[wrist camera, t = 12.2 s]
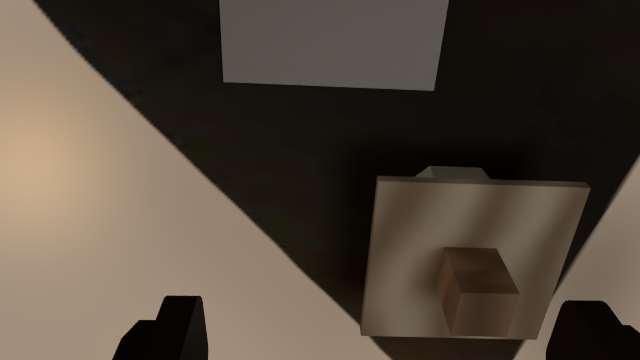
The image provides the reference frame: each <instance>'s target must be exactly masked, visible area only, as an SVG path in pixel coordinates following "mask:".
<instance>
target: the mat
mask: <svg viewBox="0 0 640 360" xmlns="http://www.w3.org/2000/svg"><path fill="white" fill-rule="evenodd" d="M448 2H449V0H219V3H220V23H221V43H222V63H223V82H239V83H263V84H286V85H310V86H334V87H358V88H382V89H406V90H429V91H434V86H435V80H436V74H437V68H438V62H439V56H440V50H441V44H442V38H443V32H444V26H445V20H446V14H447V8H448Z"/></svg>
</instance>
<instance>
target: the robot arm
mask: <svg viewBox="0 0 640 360" xmlns="http://www.w3.org/2000/svg"><path fill="white" fill-rule="evenodd" d="M112 360H208V341H207V332H206V324H205V316H204V309H203V301H202V298H201V296H166V297H165V298H164V300H163V302H162V305H161V307H160V310H159V313H158V316H157V318H156V320H139V321H138V322H137V323H136V324H135V325H134V326H133V327H132V328H131V329H130V330H129V331H128V332H127V333H126V334H125V335H124V336H123V337H122V339H121V341H120V343H119V345H118V348H117V350H116V352H115V354H114V357H113V359H112ZM546 360H640V333H639V332H638V331H637V330H635V329H634V328H633V327H631V326H630V325H622V324H621V322H620V321H619V320H618V318H617V317H616V315H615V314H614V313H613V311H612V310H611V308H610V307H609V306H608V305H607V304H606V303H605V302H603V301H573V300H568V301H565V302H564V303H563V304H562V306H561V308H560V311H559V314H558V317H557V320H556V323H555V326H554V328H553V331H552V334H551V337H550V340H549V343H548V346H547V349H546Z"/></svg>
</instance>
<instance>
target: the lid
mask: <svg viewBox="0 0 640 360" xmlns="http://www.w3.org/2000/svg"><path fill="white" fill-rule="evenodd" d="M590 189H591V188H590V187H589V186H588V184H587V183H586V182H560V181H529V180H497V179H466V178H434V177H403V176H377V184H376V193H375V201H374V210H373V219H372V228H371V237H370V246H369V255H368V264H367V273H366V281H365V290H364V299H363V308H362V317H361V326H360V331H361V335H362V336H401V337H446V338H490V339H537V337H538V334H539V331H540V328H541V325H542V322H543V320H544V317H545V314H546V312H547V309H548V306H549V303H550V300H551V298H552V295H553V292H554V289H555V287H556V284H557V281H558V278H559V275H560V273H561V270H562V267H563V264H564V261H565V259H566V256H567V253H568V250H569V247H570V245H571V242H572V239H573V236H574V234H575V231H576V228H577V225H578V222H579V220H580V217H581V214H582V211H583V208H584V206H585V203H586V200H587V197H588V194H589V192H590Z"/></svg>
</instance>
